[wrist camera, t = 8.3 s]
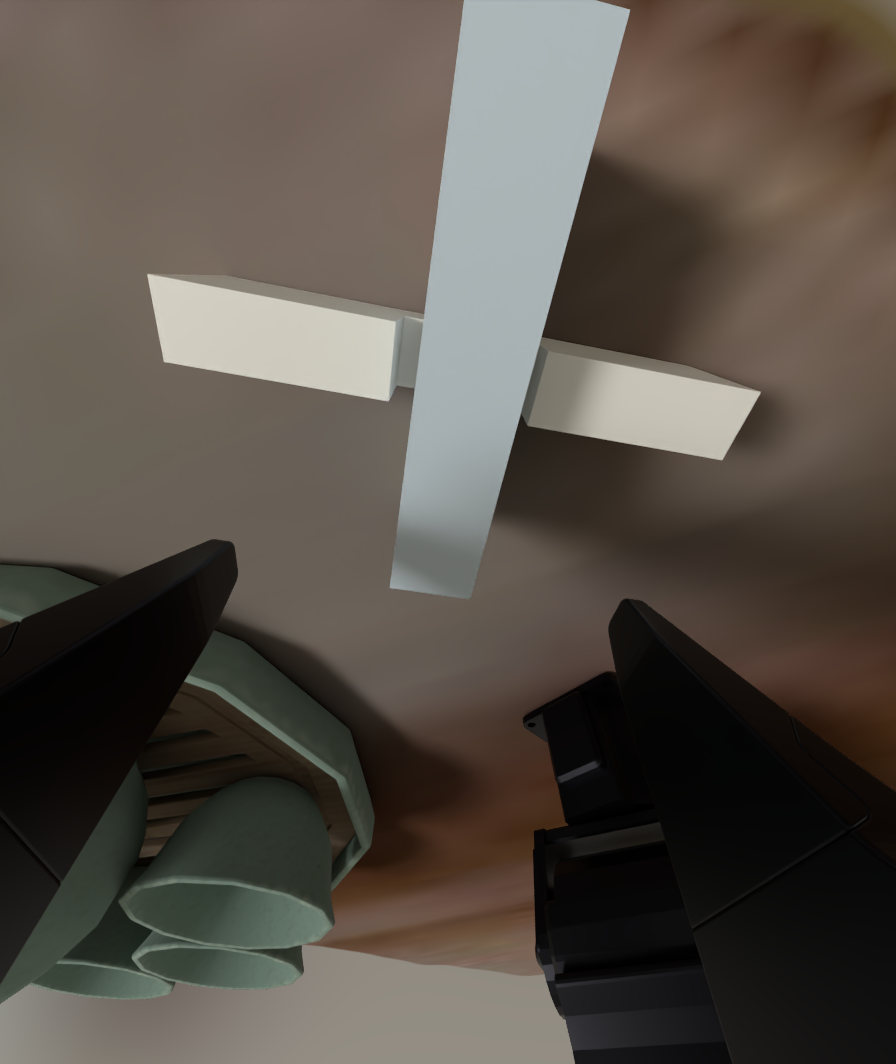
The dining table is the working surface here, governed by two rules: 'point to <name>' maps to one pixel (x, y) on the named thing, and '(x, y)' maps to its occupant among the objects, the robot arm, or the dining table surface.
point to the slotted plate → (496, 263)
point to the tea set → (203, 834)
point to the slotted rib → (393, 353)
